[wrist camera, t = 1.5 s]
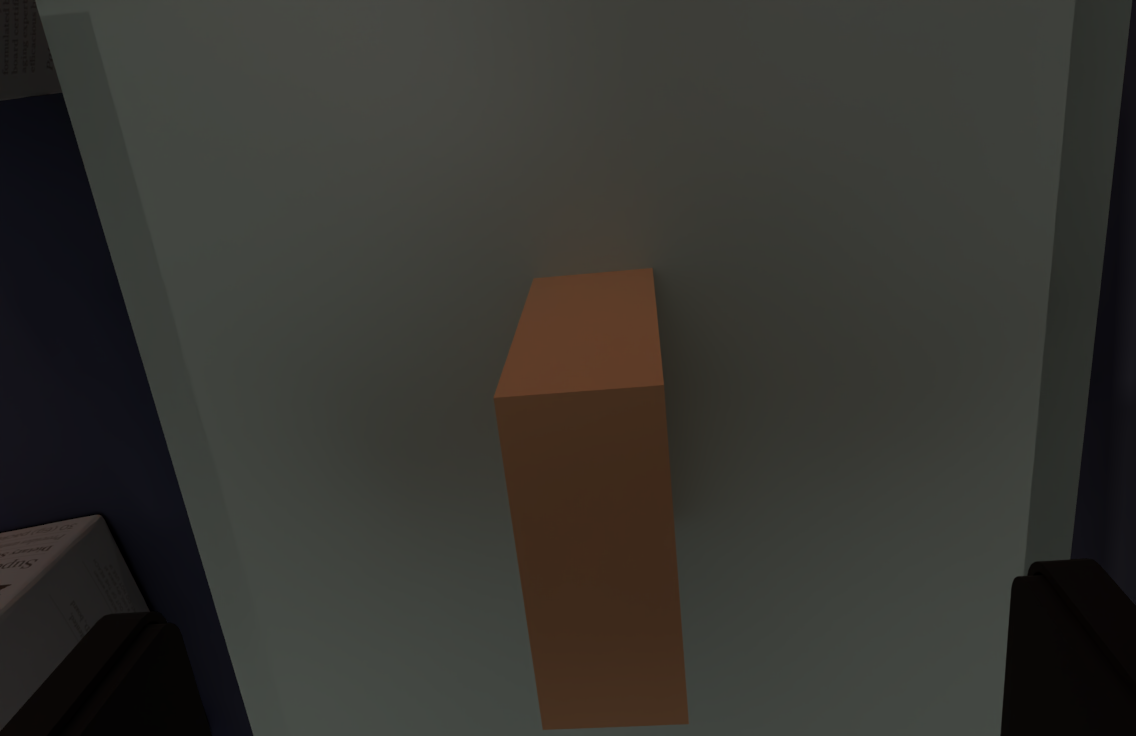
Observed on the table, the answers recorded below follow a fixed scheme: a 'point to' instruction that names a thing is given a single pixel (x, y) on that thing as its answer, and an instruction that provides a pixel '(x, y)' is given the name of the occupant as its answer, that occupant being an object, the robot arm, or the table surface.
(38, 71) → the skincare box
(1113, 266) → the table surface
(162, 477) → the table surface
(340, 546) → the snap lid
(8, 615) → the supplement box
